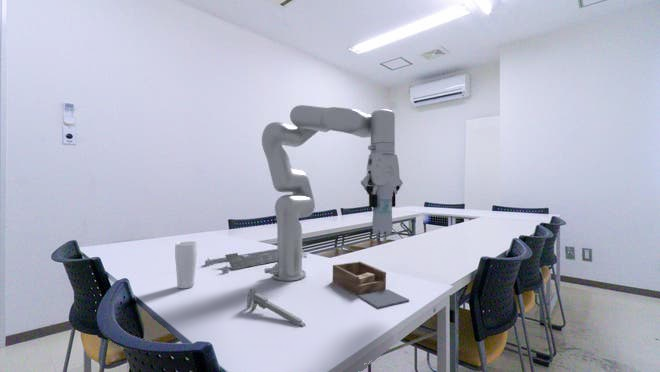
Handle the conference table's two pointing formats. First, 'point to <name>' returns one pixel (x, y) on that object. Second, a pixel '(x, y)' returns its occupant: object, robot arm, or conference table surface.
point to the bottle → (383, 210)
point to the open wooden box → (349, 277)
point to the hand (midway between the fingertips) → (382, 206)
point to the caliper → (270, 307)
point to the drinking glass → (185, 263)
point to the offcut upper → (366, 278)
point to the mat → (383, 298)
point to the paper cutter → (246, 259)
